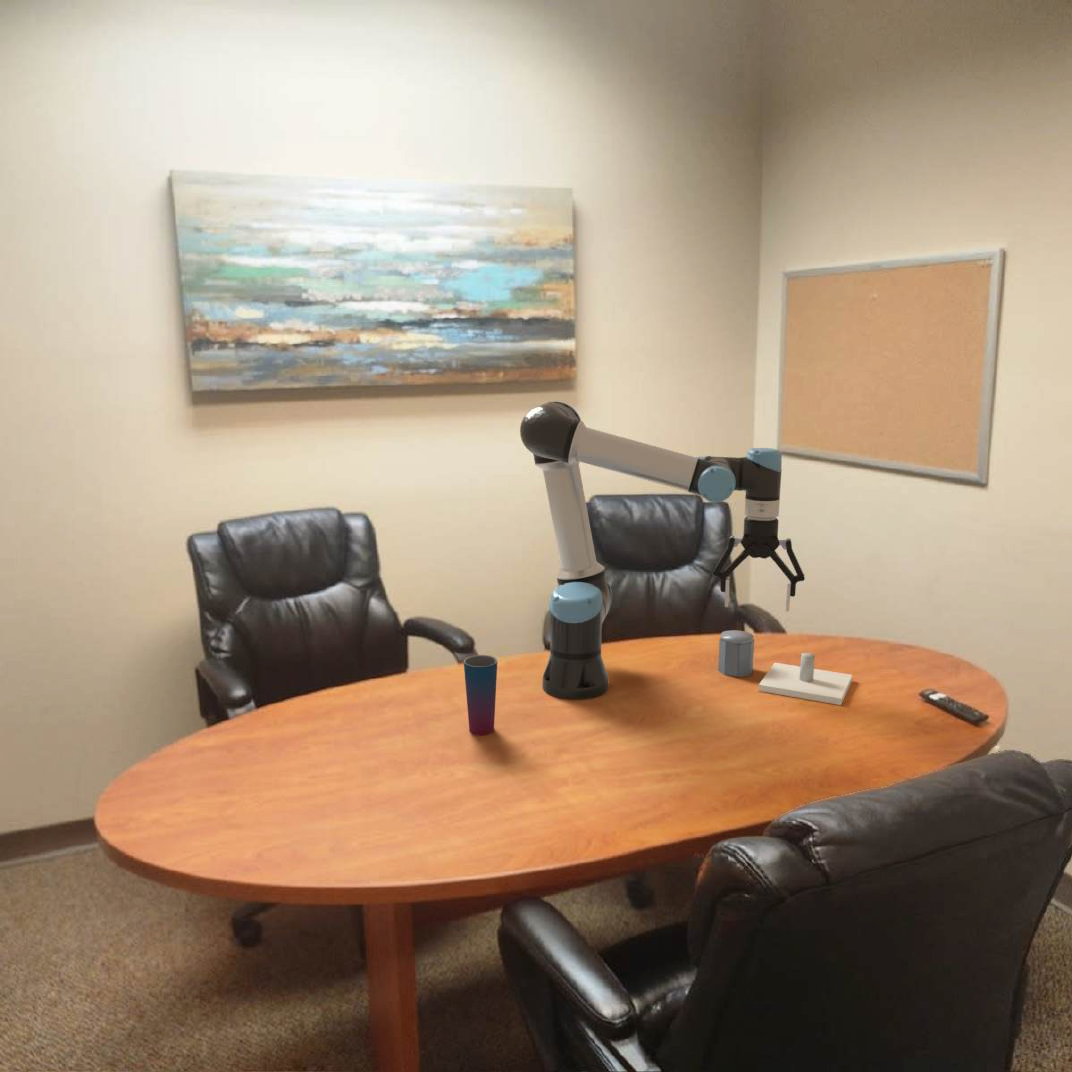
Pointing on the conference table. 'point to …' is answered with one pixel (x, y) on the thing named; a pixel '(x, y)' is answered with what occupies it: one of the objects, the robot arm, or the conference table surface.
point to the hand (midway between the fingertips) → (756, 607)
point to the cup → (481, 692)
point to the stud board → (806, 681)
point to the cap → (736, 653)
